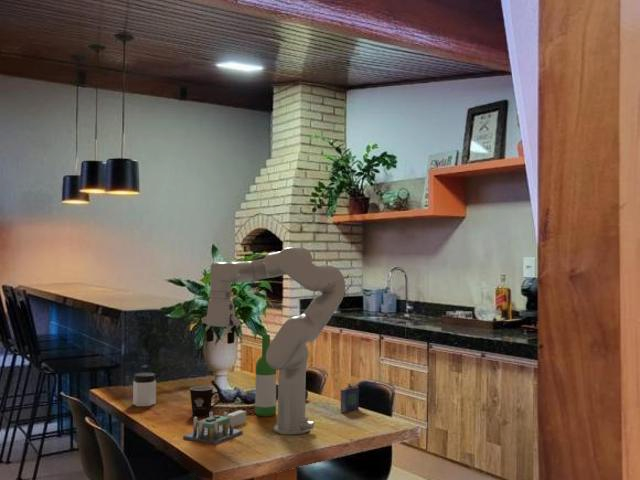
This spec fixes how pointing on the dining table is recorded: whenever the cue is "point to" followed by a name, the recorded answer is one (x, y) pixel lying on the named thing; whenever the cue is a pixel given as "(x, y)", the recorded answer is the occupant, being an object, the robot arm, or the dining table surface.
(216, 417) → the board
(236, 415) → the stand
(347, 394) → the flask
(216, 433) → the vial rack
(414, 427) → the dining table surface
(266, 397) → the wine bottle
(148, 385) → the jar
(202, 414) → the coffee mug
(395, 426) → the dining table surface
